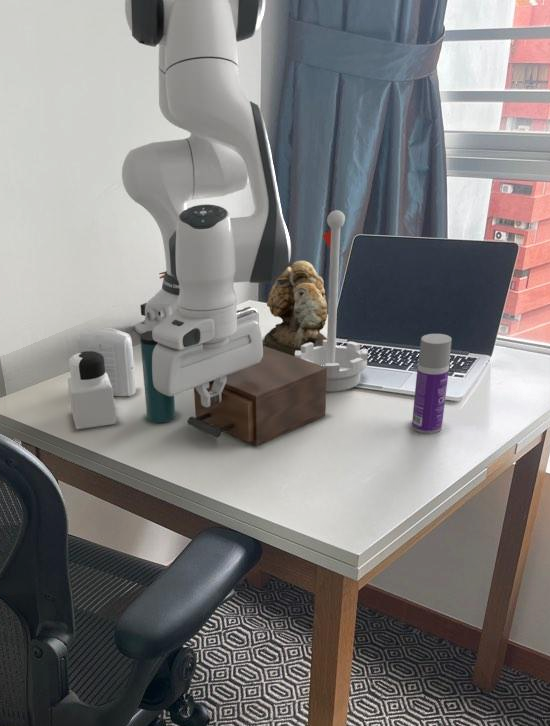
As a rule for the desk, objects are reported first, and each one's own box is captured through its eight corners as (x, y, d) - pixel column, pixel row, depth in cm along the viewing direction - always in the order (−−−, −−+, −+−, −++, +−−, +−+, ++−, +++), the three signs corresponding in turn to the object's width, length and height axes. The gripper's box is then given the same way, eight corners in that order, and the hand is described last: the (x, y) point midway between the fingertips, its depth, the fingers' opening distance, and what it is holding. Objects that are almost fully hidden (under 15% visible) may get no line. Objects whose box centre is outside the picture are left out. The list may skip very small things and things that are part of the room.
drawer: (228, 451, 132) (226, 411, 128) (175, 425, 142) (173, 387, 138) (313, 414, 141) (314, 376, 137) (258, 392, 150) (257, 355, 147)
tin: (158, 426, 144) (151, 342, 136) (141, 417, 148) (133, 335, 140) (181, 416, 147) (176, 334, 138) (164, 408, 150) (157, 327, 142)
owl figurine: (247, 340, 175) (246, 258, 166) (294, 328, 179) (295, 247, 170) (297, 366, 162) (299, 277, 152) (346, 352, 166) (351, 265, 156)
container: (440, 434, 133) (451, 344, 125) (410, 432, 135) (419, 343, 126) (442, 422, 137) (453, 333, 128) (413, 420, 138) (421, 332, 130)
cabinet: (256, 446, 135) (256, 396, 130) (198, 419, 145) (196, 371, 140) (325, 416, 142) (327, 367, 137) (265, 392, 152) (265, 346, 148)
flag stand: (378, 386, 151) (391, 212, 134) (311, 398, 148) (316, 223, 132) (346, 361, 161) (355, 198, 145) (283, 373, 159) (285, 208, 143)
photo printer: (139, 389, 158) (133, 326, 152) (131, 398, 155) (124, 334, 148) (90, 385, 162) (82, 323, 155) (81, 394, 158) (72, 331, 152)
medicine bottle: (111, 408, 152) (103, 345, 145) (116, 424, 146) (109, 359, 140) (72, 414, 151) (63, 350, 145) (76, 430, 145) (67, 365, 139)
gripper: (244, 299, 134) (246, 380, 142) (143, 333, 125) (150, 417, 132) (271, 307, 130) (271, 390, 138) (168, 342, 121) (174, 429, 128)
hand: (211, 403), depth 135 cm, fingers closed
